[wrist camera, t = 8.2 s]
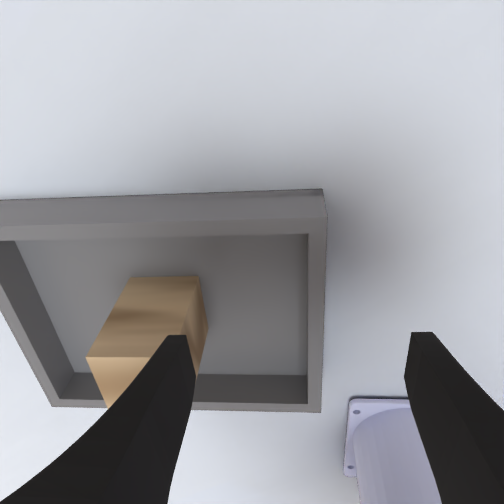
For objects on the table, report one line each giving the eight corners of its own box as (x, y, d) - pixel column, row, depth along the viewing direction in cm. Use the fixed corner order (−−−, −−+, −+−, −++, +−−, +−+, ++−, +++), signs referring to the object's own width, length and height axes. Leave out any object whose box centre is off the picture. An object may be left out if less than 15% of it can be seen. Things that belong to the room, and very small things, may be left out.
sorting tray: (317, 373, 27) (321, 412, 25) (72, 371, 29) (52, 406, 27) (322, 188, 20) (327, 217, 17) (-6, 200, 22) (-45, 227, 19)
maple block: (208, 328, 25) (187, 414, 20) (145, 329, 25) (109, 413, 20) (198, 275, 22) (172, 357, 17) (130, 277, 23) (85, 357, 18)
